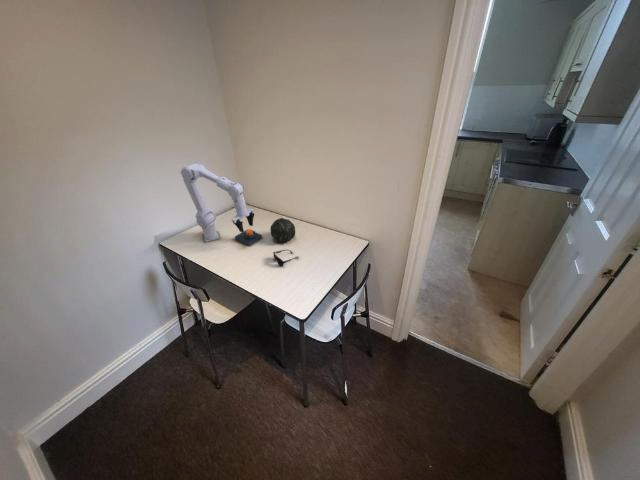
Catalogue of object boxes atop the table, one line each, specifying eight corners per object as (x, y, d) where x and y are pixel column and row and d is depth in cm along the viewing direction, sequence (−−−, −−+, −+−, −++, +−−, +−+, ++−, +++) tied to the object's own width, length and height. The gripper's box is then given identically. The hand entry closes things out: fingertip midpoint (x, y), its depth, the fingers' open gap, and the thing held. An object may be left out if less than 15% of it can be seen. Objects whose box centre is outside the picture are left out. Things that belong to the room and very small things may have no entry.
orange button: (244, 234, 150) (244, 231, 149) (249, 231, 152) (249, 228, 151) (249, 236, 148) (248, 233, 147) (254, 233, 151) (254, 230, 149)
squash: (294, 221, 160) (277, 208, 150) (303, 233, 149) (286, 220, 139) (279, 238, 161) (261, 226, 151) (287, 251, 150) (268, 239, 140)
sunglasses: (270, 258, 136) (270, 250, 134) (289, 253, 143) (290, 245, 141) (280, 268, 129) (280, 260, 127) (300, 262, 136) (300, 254, 134)
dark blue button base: (235, 239, 152) (234, 233, 150) (248, 232, 159) (247, 226, 157) (249, 246, 147) (248, 239, 144) (262, 238, 154) (261, 231, 151)
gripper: (236, 213, 129) (243, 236, 136) (255, 202, 140) (260, 223, 147) (226, 211, 132) (233, 233, 139) (245, 200, 143) (251, 222, 150)
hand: (246, 228), depth 143 cm, fingers open, 7 cm apart
